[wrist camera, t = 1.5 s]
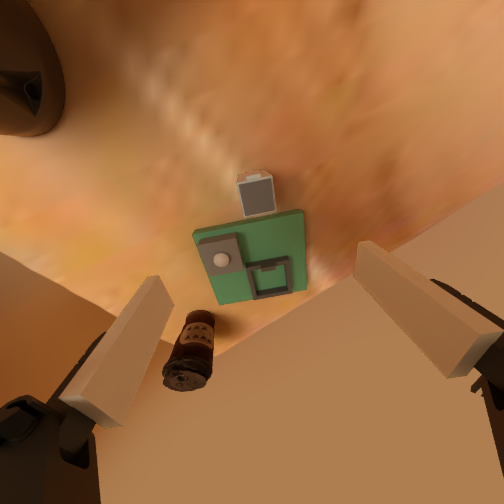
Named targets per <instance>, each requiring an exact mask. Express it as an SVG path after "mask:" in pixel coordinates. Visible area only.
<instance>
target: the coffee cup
mask: <svg viewBox="0 0 504 504" xmlns="http://www.w3.org/2000/svg"><path fill="white" fill-rule="evenodd" d="M214 324H215V320H214V317H213V316H212V315H211V314H210V313H208V312H205V311H194V312H191V313H189V314H187V317H186V323H185V325H184V326H183V329H182V331H181V334H180V335H179V336H178V338H177V340H176V342H175V345H174V348H173V351H172V354H171V356H170V358H169V360H168V362H167V363H166V364H165V365H164V367H163V371H162V375H163V377H164V380H163V385H165V386H166V387H168V388H170V389H171V390H175V391H180V392H184V391H193V390H196V389H199V388H203V387H204V386H205V385H206V382H207V380H208V379H209V378H210V377H211V374H212V365H213V364H212V363H213V350H214Z"/></svg>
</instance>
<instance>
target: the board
mask: <svg viewBox="0 0 504 504" xmlns="http://www.w3.org/2000/svg"><path fill="white" fill-rule="evenodd" d="M192 236H193V238H194V241H195V244H196V246H197V249H198V251H199V254H200V257H201V259H202V262H203V264H204V267H205V270H206V272H207V275H208V277H209V280H210V283H211V285H212V288H213V290H214V293H215V295H216V298H217V301H218V303H219V305H224V304H230V303H235V302H241V301H246V300H252V299H253V300H257V299H263V298H268V297H274V296H279V295H285V294H290V293H293V292H296V291H302V290H307V276H306V254H305V232H304V212H303V211H302V210H301V209H297V210H292V211H287V212H282V213H277V214H272V215H267V216H262V217H257V218H252V219H247V220H242V221H237V222H232V223H227V224H222V225H217V226H212V227H207V228H202V229H197V230H194V232H193V234H192Z"/></svg>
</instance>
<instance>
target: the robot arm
mask: <svg viewBox="0 0 504 504" xmlns="http://www.w3.org/2000/svg"><path fill="white" fill-rule="evenodd" d="M64 99H65V88H64V79H63V74H62V70H61V66H60V63H59V60H58V57H57V54H56V52H55V49H54V47H53V45H52V42H51V40H50V38H49V36H48V34H47V32H46V31H45V29H44V27H43V25H42V24H41V22H40V20H39V19H38V17H37V16H36V14H35V13H34V11H33V10H32V8H31V7H30V6H29V4H28V3H27V2H26V0H0V134H1V135H11V136H36V135H40V134H42V133H45V132H47V131H48V130H50V129H51V128H52V127H53V126H54V125H55V124H56V123H57V121H58V120H59V118H60V116H61V113H62V111H63V107H64ZM353 276H354V278H355V279H356V280H357V281H358V282H359V283H360V284H361V285H362V286H363V287H364V288H365V290H366V291H367V292H368V293H369V294H370V295H371V296H372V297H373V298H374V299H375V301H376V302H377V303H378V304H379V305H380V306H381V307H382V308H383V309H384V310H385V312H386V313H387V314H388V315H389V316H390V317H391V318H392V319H393V320H394V321H395V323H396V324H397V325H398V326H399V327H400V328H401V329H402V330H403V331H404V332H405V333H406V335H407V336H408V337H409V338H410V339H411V340H412V341H413V342H414V343H415V344H416V346H418V348H419V349H420V350H421V351H422V352H423V353H424V354H425V355H426V356H427V357H428V359H429V360H430V361H431V362H432V363H433V364H434V365H435V366H436V367H437V368H438V370H439V371H440V372H441V373H442V374H443V375H444V376H445V377H446V378H447V379H448V378H454V377H461V376H467V375H468V373H469V372H470V371H471V370H472V369H473V368H474V367H475V368H476V369H477V370H478V371H479V372H480V373H481V374H482V375H481V376H480V377H479V379H478V380H477V381H476V382H475V383H474V384H473V385H472V386H471V392H473V393H476V392H477V391H478V390H479V389H480V388H482V392H483V394H482V395H481V396H482V397H484V400H485V404H486V408H487V412H488V417H489V421H490V424H491V428H492V433H493V437H494V440H495V445H496V449H497V453H498V457H499V461H500V465H501V469H502V473H503V477H504V320H502V319H501V318H499V317H498V316H496V315H494V314H493V313H491V312H490V311H488V310H486V309H485V308H483V307H482V306H480V305H479V304H477V303H476V302H472V300H471V299H469V298H468V297H466V296H465V295H461V293H460V292H458V291H457V290H455V289H454V288H452V287H450V286H449V285H447V284H445V283H442V282H440V281H437V280H435V279H430V280H429V279H427V278H426V277H424V276H423V275H421V274H420V273H418V272H417V271H415V270H414V269H413V268H411V267H410V266H408V265H407V264H405V263H404V262H402V261H400V260H399V259H398V258H396V257H395V256H393V255H392V254H390V253H389V252H387V251H386V250H384V249H383V248H382V247H380V246H379V245H377V244H376V243H374V242H373V241H371V240H367V241H361V242H358V248H357V254H356V261H355V267H354V273H353ZM173 307H174V304H173V302H172V300H171V298H170V296H169V294H168V292H167V290H166V288H165V286H164V284H163V282H162V281H161V279H160V277H159V275H157V276H151V277H147V278H146V280H145V281H144V282H143V284H142V285H141V286H140V288H139V289H138V290H137V292H136V293H135V295H134V296H133V297H132V299H131V300H130V301H129V303H128V304H127V305H126V307H125V308H124V309H123V311H122V312H121V314H120V315H119V316H118V318H117V319H116V320H115V322H114V323H113V324H112V326H111V327H110V328H109V330H108V331H107V332H104V333H103V334H101V335H100V336H99V337H98V338H97V339H96V340H95V341H94V342H93V343H92V344H91V346H90V347H89V348H88V349H87V351H86V352H85V355H83V356H82V357H81V359H80V360H79V361H78V364H76V365H75V366H74V368H73V369H72V370H71V372H70V373H69V374H68V376H67V377H66V378H65V379H64V381H63V382H62V383H61V385H60V386H59V387H58V389H57V390H56V391H55V392H54V394H53V395H52V396H51V398H50V399H49V400H48V401H47V403H46V404H44V403H42V402H41V401H39V400H37V399H36V398H34V397H32V396H29V395H24V396H20V397H18V398H16V399H14V400H12V401H10V402H8V403H7V404H5V405H4V406H2V407H1V408H0V504H101V501H100V490H99V479H98V478H99V477H98V467H97V455H96V444H95V436H94V434H93V433H92V430H93V428H94V426H95V424H96V423H97V424H98V425H100V426H101V427H103V428H112V427H118V426H123V424H124V421H125V419H126V417H127V414H128V412H129V410H130V407H131V405H132V403H133V400H134V398H135V396H136V393H137V391H138V389H139V386H140V384H141V382H142V379H143V377H144V374H145V372H146V370H147V367H148V365H149V363H150V360H151V358H152V356H153V353H154V351H155V349H156V346H157V344H158V342H159V339H160V337H161V335H162V332H163V330H164V328H165V325H166V323H167V321H168V318H169V316H170V314H171V311H172V309H173Z"/></svg>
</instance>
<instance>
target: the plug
mask: <svg viewBox="0 0 504 504" xmlns="http://www.w3.org/2000/svg"><path fill="white" fill-rule="evenodd" d="M236 184H237V188H238V193H239V197H240V202H241V207H242V211H243V216H244V217H249V216H254V215H259V214H264V213H269V212H274V211H276V202H275V194H274V186H273V178H272V175H271V174H269V173H268V172H266V171H265V170H259V171H257V170H253V171H248V172H245V174H240V175H237V182H236Z"/></svg>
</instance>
